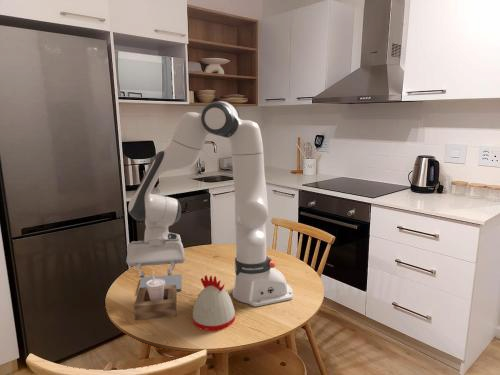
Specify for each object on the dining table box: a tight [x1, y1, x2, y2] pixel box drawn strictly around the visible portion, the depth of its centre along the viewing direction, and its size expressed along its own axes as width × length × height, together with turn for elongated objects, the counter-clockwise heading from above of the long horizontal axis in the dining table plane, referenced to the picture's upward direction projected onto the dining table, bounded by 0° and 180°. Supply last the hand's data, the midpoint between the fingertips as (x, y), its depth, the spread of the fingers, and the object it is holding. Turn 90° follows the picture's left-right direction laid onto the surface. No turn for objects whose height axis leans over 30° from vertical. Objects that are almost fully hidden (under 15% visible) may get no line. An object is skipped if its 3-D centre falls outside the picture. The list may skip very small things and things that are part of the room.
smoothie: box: [146, 270, 165, 301], centre depth 126 cm, size 6×6×14 cm
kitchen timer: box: [192, 275, 236, 332], centre depth 119 cm, size 14×14×15 cm
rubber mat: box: [136, 273, 182, 295], centre depth 144 cm, size 16×13×1 cm
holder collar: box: [133, 285, 178, 321], centre depth 127 cm, size 13×13×5 cm
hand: (155, 276), depth 128 cm, fingers open, 8 cm apart
